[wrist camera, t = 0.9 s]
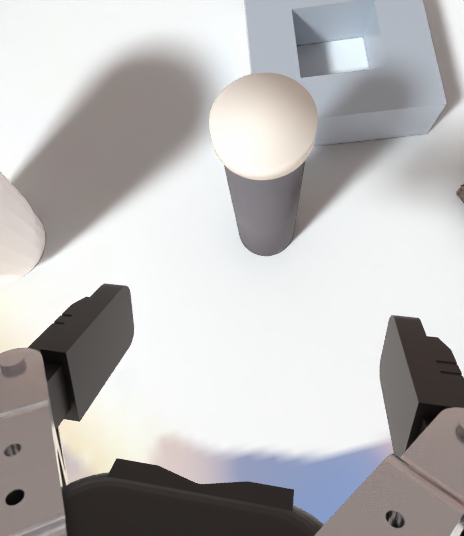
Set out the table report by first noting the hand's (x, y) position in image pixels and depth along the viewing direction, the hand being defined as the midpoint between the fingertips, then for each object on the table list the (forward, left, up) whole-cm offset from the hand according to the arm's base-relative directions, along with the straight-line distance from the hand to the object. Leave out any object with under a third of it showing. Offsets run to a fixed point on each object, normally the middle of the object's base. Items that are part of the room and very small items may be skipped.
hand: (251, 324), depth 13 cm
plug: (+1, +10, -19) cm, 22 cm away
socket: (+8, +24, -19) cm, 32 cm away
